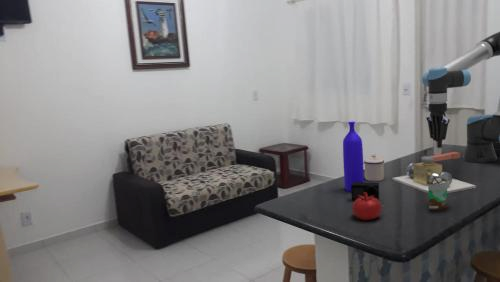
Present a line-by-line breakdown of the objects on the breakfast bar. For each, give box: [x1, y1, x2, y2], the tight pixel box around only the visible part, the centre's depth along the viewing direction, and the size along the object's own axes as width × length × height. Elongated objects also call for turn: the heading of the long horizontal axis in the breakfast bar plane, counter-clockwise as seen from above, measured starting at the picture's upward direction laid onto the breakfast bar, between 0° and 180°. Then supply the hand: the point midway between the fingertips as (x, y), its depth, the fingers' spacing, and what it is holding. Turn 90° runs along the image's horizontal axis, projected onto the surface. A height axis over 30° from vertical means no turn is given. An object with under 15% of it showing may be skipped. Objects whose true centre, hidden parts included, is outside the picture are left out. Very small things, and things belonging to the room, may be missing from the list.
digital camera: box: [350, 181, 380, 202], centre depth 157 cm, size 10×5×7 cm, turn 67°
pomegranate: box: [351, 192, 383, 221], centre depth 140 cm, size 10×10×9 cm
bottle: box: [342, 120, 365, 193], centre depth 170 cm, size 8×8×30 cm
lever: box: [420, 151, 461, 163], centre depth 171 cm, size 18×5×2 cm, turn 106°
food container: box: [428, 176, 450, 211], centre depth 143 cm, size 12×6×10 cm, turn 148°
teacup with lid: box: [363, 154, 385, 182], centre depth 186 cm, size 12×9×12 cm
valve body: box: [405, 161, 453, 186], centre depth 170 cm, size 8×20×9 cm, turn 16°
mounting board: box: [392, 174, 477, 194], centre depth 171 cm, size 20×27×1 cm
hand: (437, 154), depth 179 cm, fingers closed
